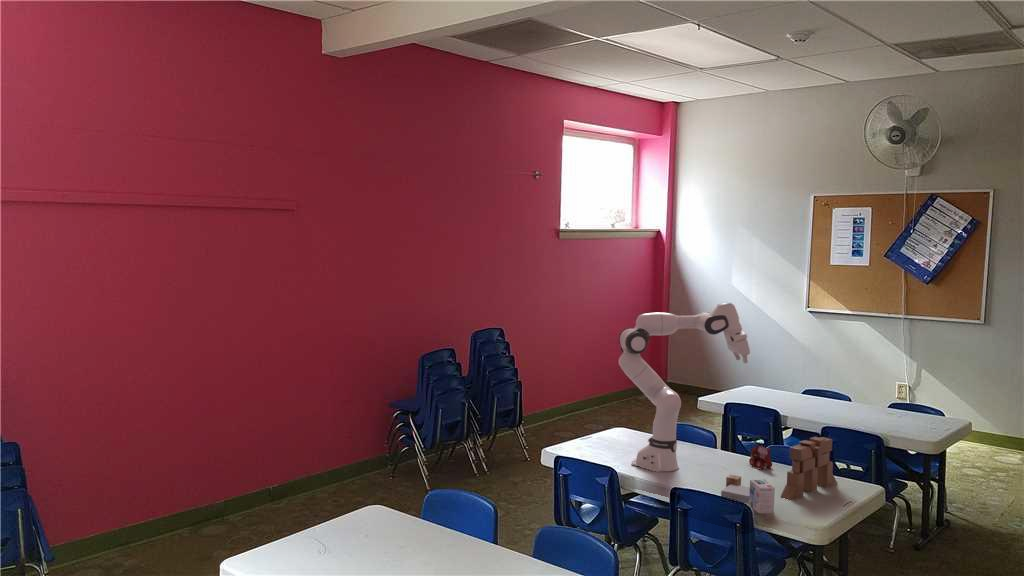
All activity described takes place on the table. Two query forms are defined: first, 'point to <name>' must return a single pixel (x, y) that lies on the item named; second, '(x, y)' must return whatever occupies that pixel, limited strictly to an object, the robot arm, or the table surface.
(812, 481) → the wooden robot
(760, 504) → the light bulb box
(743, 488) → the stand
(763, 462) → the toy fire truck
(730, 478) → the walnut cube
